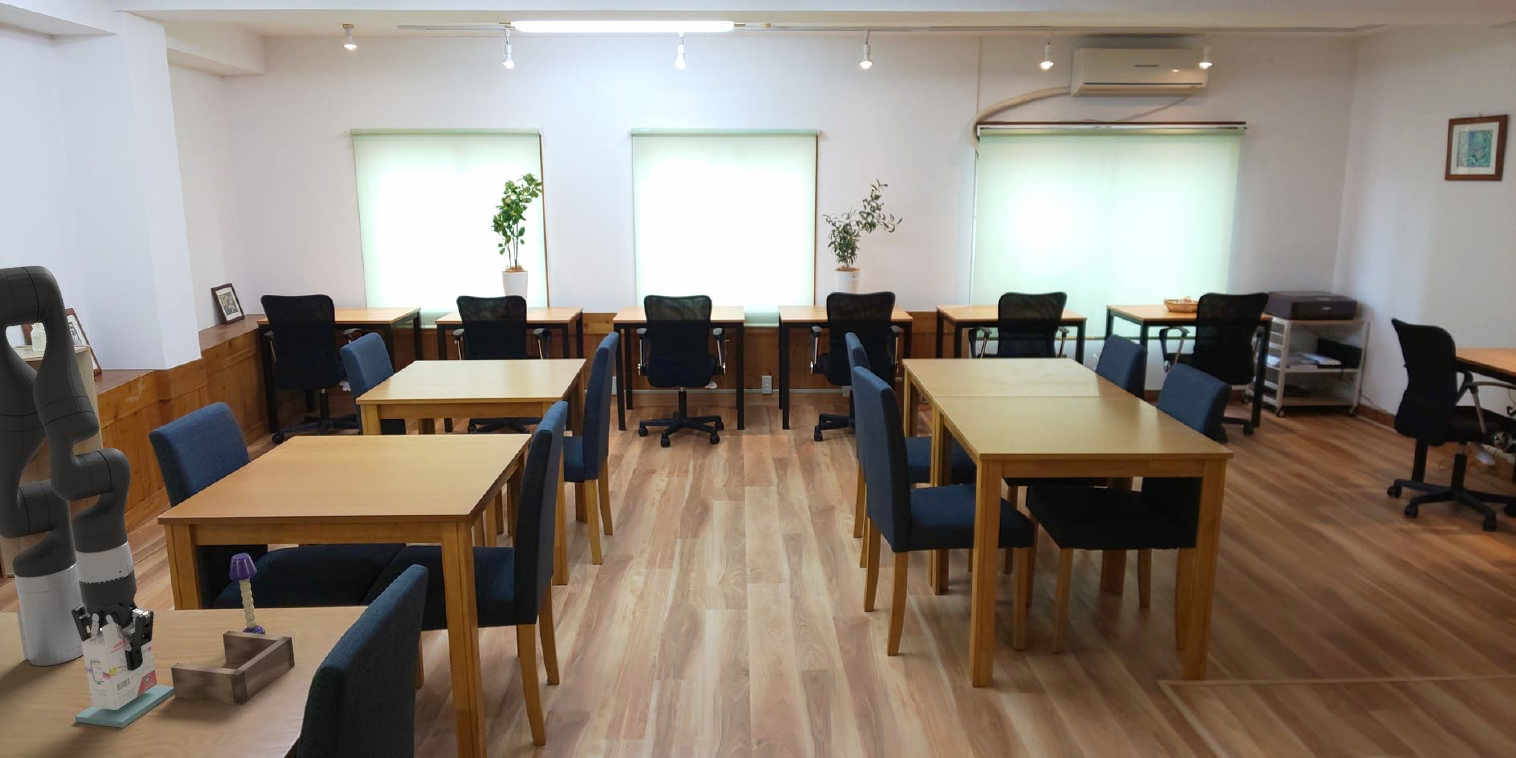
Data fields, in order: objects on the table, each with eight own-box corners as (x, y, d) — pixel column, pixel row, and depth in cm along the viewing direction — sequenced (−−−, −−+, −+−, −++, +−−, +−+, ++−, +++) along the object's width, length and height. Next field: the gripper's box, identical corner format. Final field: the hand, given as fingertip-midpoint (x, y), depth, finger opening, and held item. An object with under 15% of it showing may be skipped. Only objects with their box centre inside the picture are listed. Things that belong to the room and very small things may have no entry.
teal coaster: (75, 721, 157) (75, 716, 157) (131, 687, 168) (130, 681, 168) (123, 727, 156) (122, 722, 155) (175, 692, 166) (175, 687, 166)
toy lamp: (248, 644, 183) (238, 561, 179) (231, 639, 185) (221, 557, 181) (270, 633, 187) (260, 552, 184) (253, 628, 189) (244, 548, 186)
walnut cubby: (174, 696, 165) (170, 667, 164) (232, 658, 178) (228, 630, 177) (241, 704, 162) (238, 674, 161) (294, 664, 175) (291, 637, 174)
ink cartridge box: (133, 681, 166) (121, 602, 163) (158, 684, 165) (146, 604, 162) (90, 708, 158) (76, 625, 155) (116, 711, 157) (103, 628, 154)
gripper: (48, 576, 154) (64, 673, 158) (124, 584, 152) (139, 682, 155) (88, 558, 162) (103, 651, 165) (162, 565, 159) (175, 659, 162)
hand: (120, 666), depth 160 cm, fingers closed on ink cartridge box, 5 cm apart
